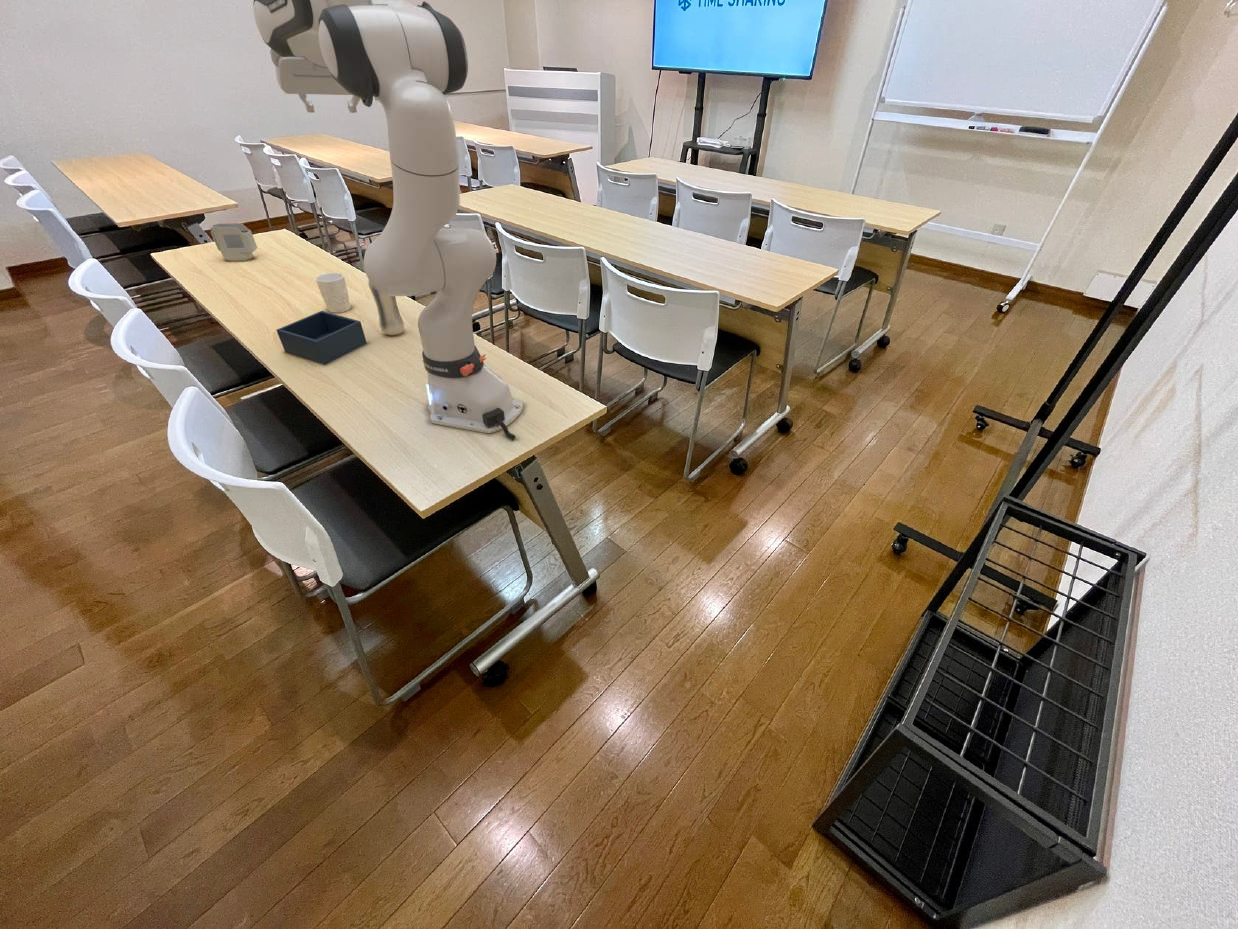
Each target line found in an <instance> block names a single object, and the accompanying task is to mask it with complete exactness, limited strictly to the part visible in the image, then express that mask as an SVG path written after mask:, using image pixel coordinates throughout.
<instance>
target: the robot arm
mask: <svg viewBox="0 0 1238 929" xmlns="http://www.w3.org/2000/svg"><path fill="white" fill-rule="evenodd" d="M252 2H253V5H252V6H253V16H254V20H255V24H256V28H257V29H258V32H259V34H260V36H261V37H262V40H263V42H264V43H265V45H267V46H268V47H269V48H270V59H271V61H272V63H273V65H274V70H275V75H276V81H277V83H278V85H279V88H280V89H281V90H282V91H283V93H285V94H287V95H298V97H299V99H300V100H301V101H302V102H303V104H304V107H305V110H306V112H307V113H315V106H314V103H313V101H312V100H308V99H307V98H308V97H307V95H327V96H329V95H330V96H352V97H351V99H350V101H346V102H347V109H348V111H349V113H351V114H353V113H355V114H356V113H357V112H358V111H357V107H358V104H360V101H361V102H362V104H363V105H364V106H365V107H368V108H370V107H371V106H372V105H373V101H374V98H376V99H377V100H378V101H379V103H380V104H381V106H382V108H383V111H384V113H385V117H386V118H385V119H386V126H387V139H388V151H389V159H390V167H391V176H392V177H391V178H392V189H393V190H392V191H393V203H392V209H391V213H390V216H389V217H388V218H389V219H388V221H387V223H386V225H385V226H384V228H383V230H382V231H381V233H380V234H379V235H378V236H377V237H376V238H375V239H374V240H373V241H372V242H371V243H369V244H368V246H367V247H366V249H365V252H364V255H363V269H364V272H365V275H366V278H367V280H368V282H369V281H370V283H371V284H372V285H373V286H374V287H375V288H376V289H377V290H378V291H379V292H380V293H382V294H383V295H385V296H395V297H414V296H418V295H423V294H427V293H429V294H430V293H434V292H437V293H436V295H435V297H434V298H433V300H432V301H431V302H430V303H429V304H428V305H426V306H425V307H424V308H423V309H422V310H421V312H420V313H419V316H418V319H417V329H418V333H419V337H420V342H421V346H422V351H421V357H422V364H423V366H424V370H425V371H426V372H427V384H426V390H427V396H428V403H427V404H428V405H427V409H428V411H429V413H430V416H429V419H430V423H432V424H433V425H434V424H435V425H439V426H445V427H451V428H455V429H461V430H467V431H473V432H477V433H484V434H492V433H495V432H498V431H500V430H502V431H503V432H504V435H505V436H506V437H507V438H508V439H511V440H515V439H516V435H515V434H513V433H511V431H509V428H508V426H509V425H510V424H512V422H514V421H515V420H516V419H517V418H518V417H519V416H520V415H521V413H522V411H523V409H524V405H523V401H522V400H520V399H517V398H516V397H514V396H513V395H512V391H511V389H510V386H509V385H508V383H506V382H505V380H503V379H502V377H501V375H500V374H496V373H495V372H494V371H492V369H490V368H489V367H488V366H487V365H485V363H484V361H485V360H486V359H487V357H486V356H487V354H483V355H481V354H480V351H479V350H478V347H477V346H476V345H475V338H474V328H473V311H474V307H475V303H476V300H477V297H478V295H479V292H480V291H481V289H482V287H483V286H484V284H485V283H486V282H487V281H488V280H489V278H492V276H493V274H494V273H495V269H496V267H497V266H496V265H497V252H496V249H495V245H494V244H493V242H492V240H491V239H490V238H489V236H488V235H487V234H486V233H485V232H483V230H481V229H478V228H477V229H476V228H468V227H467V228H466V227H453V228H446V229H445V228H444V229H442V228H443V227H445V226H446V225H448V224H449V223H450V222H452V220H453V219H454V218H455V217H456V215H457V214H458V212H459V209H460V205H461V190H460V187H461V186H460V162H459V149H458V139H457V133H456V126H455V122H454V117H453V113H452V108H451V104H450V102H449V101H448V98H447V97H446V96H445V95H448V94H452V93H455V92H457V91H459V90H461V89H462V88H463V87H464V86H465V83H466V80H467V79H468V72H469V60H468V59H469V58H468V51H467V46H466V42H465V39H464V36H463V34H462V32H461V30H460V29H459V27H457V25H456V24H455V23H454V22H453V20H452V19H451V18H449V17H448V16H446V15H445V14H442V13H441V12H440V11H437V10H435V9H434V8H433V7H432V6H431V4H430V3H428V2H426V1H425V0H424V1H422V3H421V4H417V5H416V4H413V3H411V2H410V1H408V0H253V1H252Z"/></svg>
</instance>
